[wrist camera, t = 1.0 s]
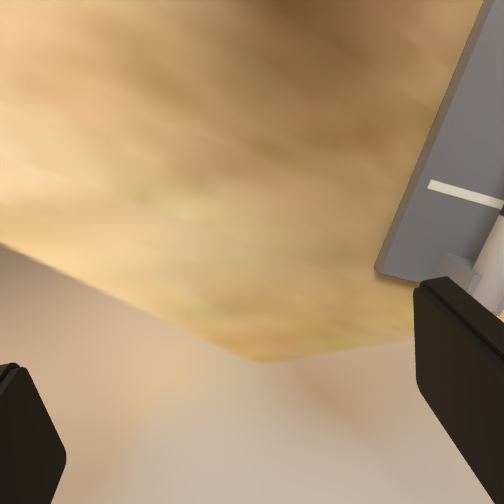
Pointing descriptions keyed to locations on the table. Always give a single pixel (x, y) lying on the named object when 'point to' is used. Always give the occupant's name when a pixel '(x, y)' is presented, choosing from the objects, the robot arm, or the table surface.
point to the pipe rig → (460, 179)
